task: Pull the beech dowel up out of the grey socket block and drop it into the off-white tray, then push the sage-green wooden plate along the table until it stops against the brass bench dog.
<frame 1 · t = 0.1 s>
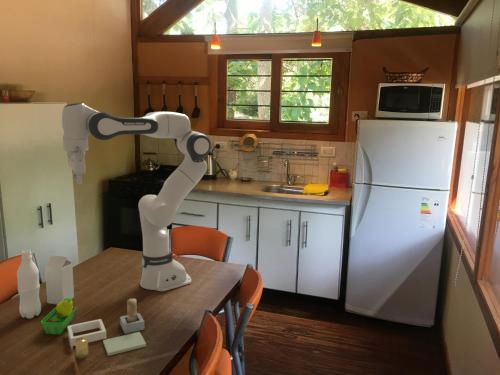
hand: (77, 181, 163), 48 cm above the table, fingers open, 8 cm apart
water bottle: (30, 315, 156), on the table
bench dog: (82, 357, 132), on the table
fruit basket: (61, 328, 149), on the table
socket block: (132, 329, 149), on the table
tray: (87, 338, 143), on the table
milk carton: (61, 301, 168), on the table
plate board: (124, 348, 138), on the table
dowel: (132, 326, 149), point 1 cm above the table, touching socket block
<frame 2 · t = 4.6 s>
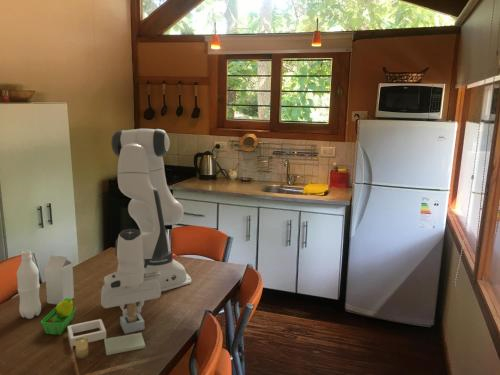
hand: (132, 313, 148), 6 cm above the table, fingers closed on dowel, 3 cm apart
dowel: (132, 326, 149), point 1 cm above the table, touching gripper, socket block
everything else where it was.
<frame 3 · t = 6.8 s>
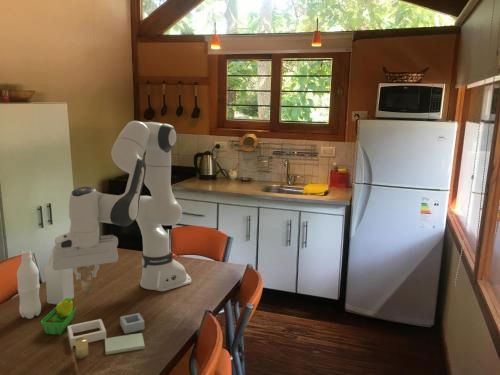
hand: (86, 278, 138), 22 cm above the table, fingers closed on dowel, 3 cm apart
dowel: (86, 292, 139), point 17 cm above the table, touching gripper
everything else where it was.
when the fingers open (7 cm above the table, at t = 9.4 s): dowel drops 1 cm, resting on tray.
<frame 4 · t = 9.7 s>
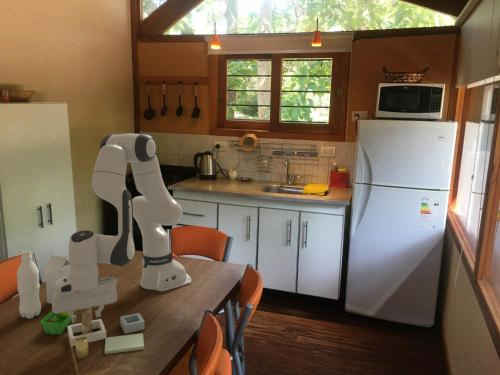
hand: (86, 318, 141), 7 cm above the table, fingers open, 6 cm apart
dowel: (87, 336, 142), point 1 cm above the table, touching tray
everything else where it was.
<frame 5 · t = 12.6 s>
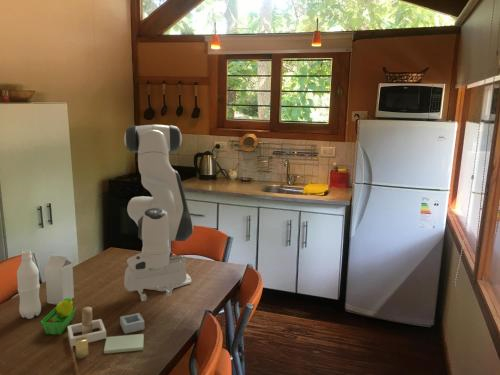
hand: (156, 297, 140), 15 cm above the table, fingers open, 7 cm apart
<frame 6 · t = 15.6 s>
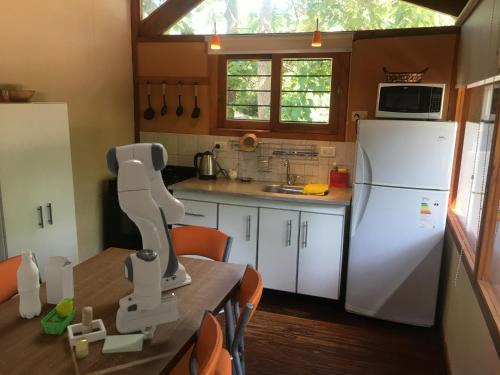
hand: (148, 337, 141), 2 cm above the table, fingers closed
plate board: (123, 348, 138), on the table, touching gripper
everything else where it was.
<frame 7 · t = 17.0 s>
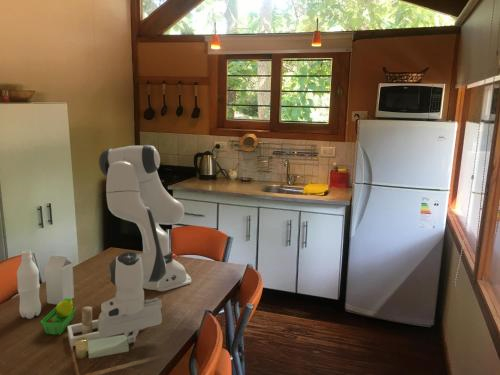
hand: (131, 341, 139), 1 cm above the table, fingers closed
plate board: (108, 350, 136), on the table, touching bench dog, gripper
everything else where it was.
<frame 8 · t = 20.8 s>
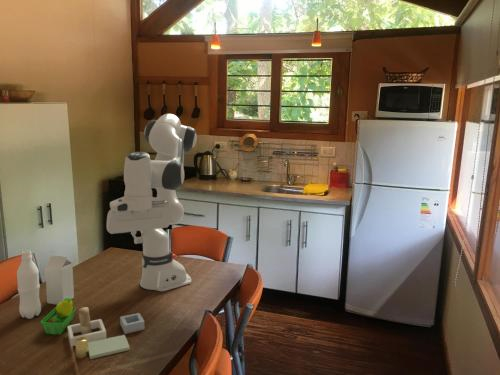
hand: (139, 242, 140), 33 cm above the table, fingers closed
plate board: (108, 351, 136), on the table
at the end: dowel inside the target area on the tray (0.1 cm from its centre), point 0.7 cm above the tray's base; plate board 0.7 cm from the target spot, on the table; the gripper is holding nothing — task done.
